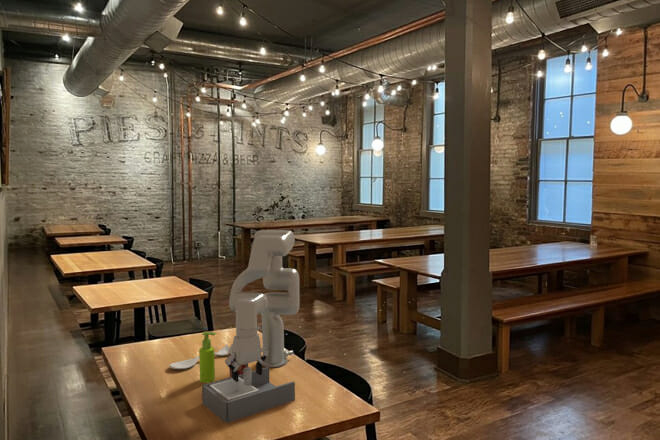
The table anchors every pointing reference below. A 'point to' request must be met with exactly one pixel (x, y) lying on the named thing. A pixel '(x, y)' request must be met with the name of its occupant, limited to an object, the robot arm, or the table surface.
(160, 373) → the table surface
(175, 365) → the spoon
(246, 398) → the bay
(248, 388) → the drawer
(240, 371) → the smoothie
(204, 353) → the soap dispenser
